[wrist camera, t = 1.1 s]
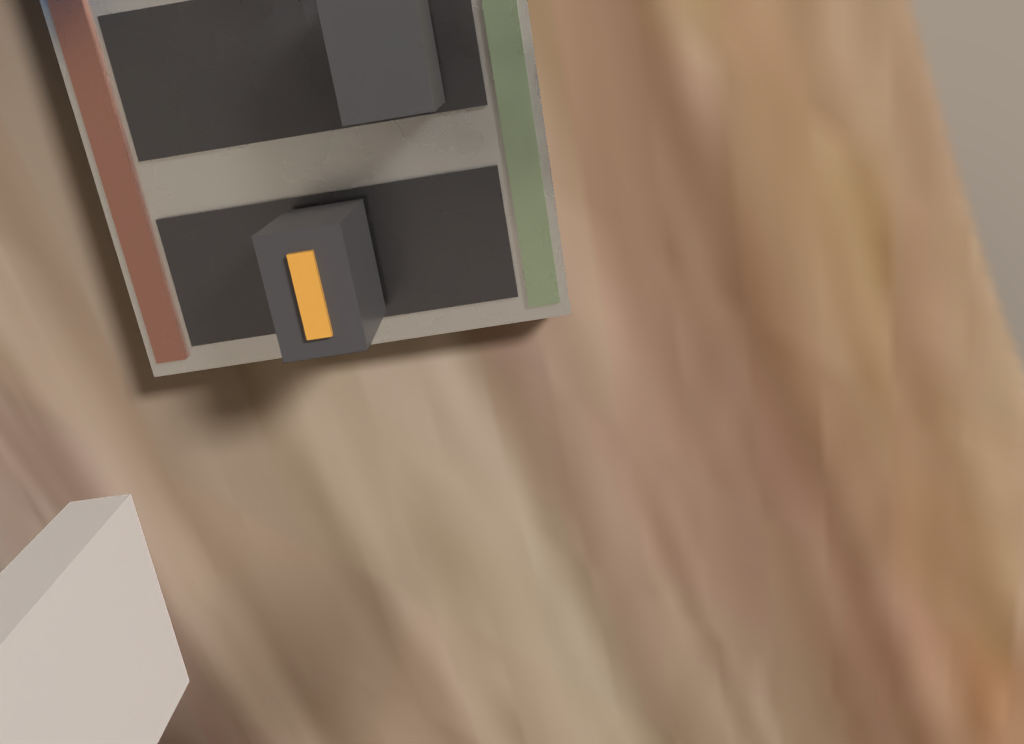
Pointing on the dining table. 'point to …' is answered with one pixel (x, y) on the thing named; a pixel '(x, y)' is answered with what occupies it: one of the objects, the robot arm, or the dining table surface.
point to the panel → (307, 167)
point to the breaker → (381, 58)
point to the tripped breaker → (321, 280)
